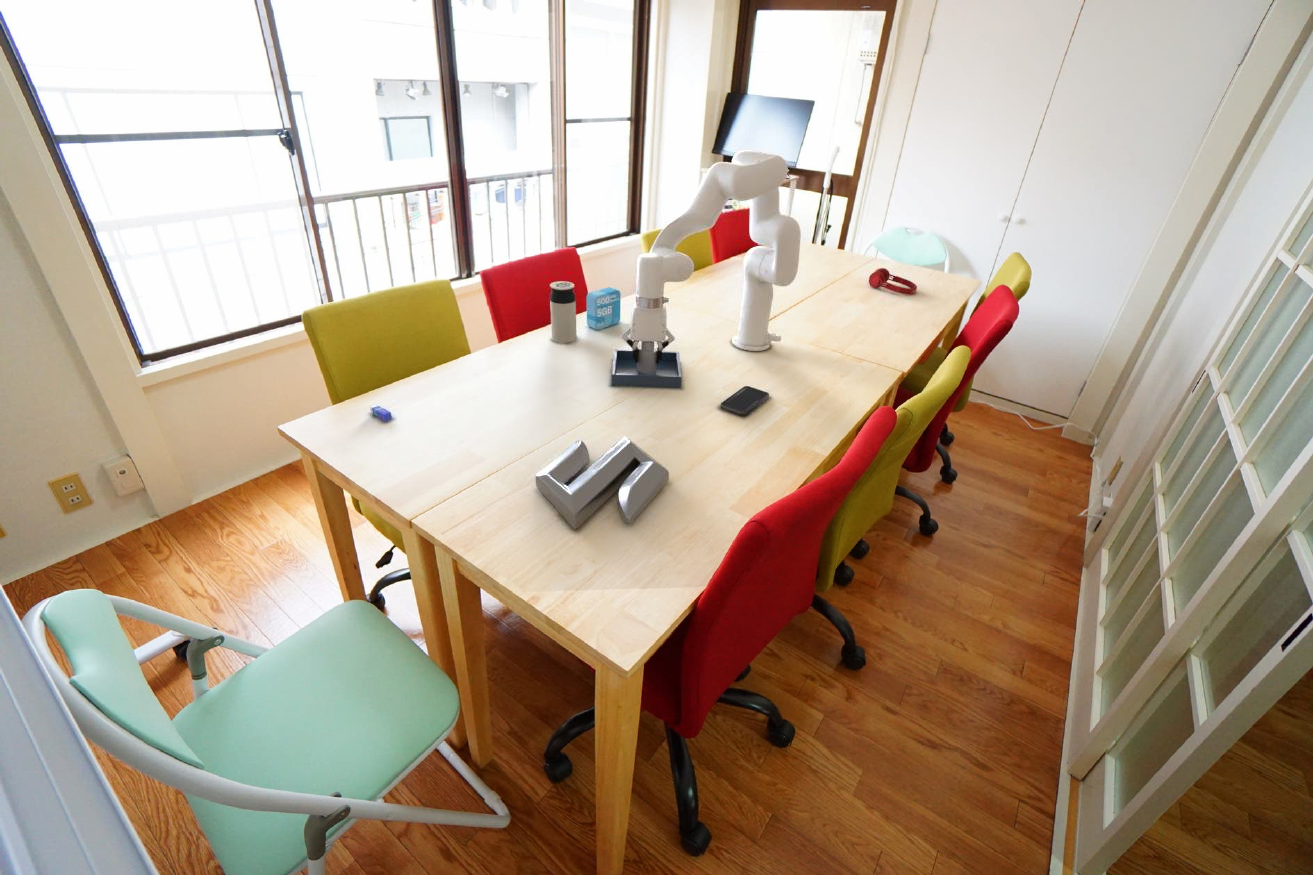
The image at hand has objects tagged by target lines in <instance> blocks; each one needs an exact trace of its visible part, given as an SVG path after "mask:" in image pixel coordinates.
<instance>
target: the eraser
mask: <svg viewBox="0 0 1313 875" xmlns="http://www.w3.org/2000/svg"><path fill="white" fill-rule="evenodd" d="M369 409H370V412H371V414H373V415H374V416H376V417H378V418H379V419H381V420H382V421H384V422H387V421H390V420H392V419H393V417H392V412H391V411H389V410H388V409H386V408H384V407H382V406H380V405H378V404H375V405H372V406H370V407H369Z"/></svg>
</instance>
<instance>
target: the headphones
mask: <svg viewBox="0 0 1313 875" xmlns="http://www.w3.org/2000/svg"><path fill="white" fill-rule="evenodd" d="M888 281H890V282H888ZM891 282H893V283H897V284H900V285H903V286H905V287H902V286H899V285H895V284H893V283H891ZM868 284H869V286H871V287H872V288H874V289H879V288H884V289H886V290H889V291H892V292H895V293H898V294H902V295H914V294H915V293H916V291H917V289H918V286H917V284H916V283H914V282H913V281H910V280H908V279H907V278H903V277H901V276H898V275H894V274H891V273H890V271H889V270H888V269H887V268H885V267H880V268H877V269H875V271H874V272H872V273H870V275H869V277H868Z"/></svg>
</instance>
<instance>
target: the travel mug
mask: <svg viewBox="0 0 1313 875" xmlns="http://www.w3.org/2000/svg"><path fill="white" fill-rule="evenodd" d="M549 287H550V288H551V289H550V290H551V292H550V293H549V307H550V309H549V310H550V325H551V326H550V327H551V340H552V341H553V342H556V343H560V344H568V343H569V344H570V343H572V342H574V341H576V340H577V307H576V306H577V304H576V303H577V302H576V301H577V300H576V293H575V291H574V288H575V284H574V283H573V282H571V281H562V280H561V281H554V282H551V283H550V284H549Z"/></svg>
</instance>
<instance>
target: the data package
mask: <svg viewBox="0 0 1313 875" xmlns="http://www.w3.org/2000/svg"><path fill="white" fill-rule="evenodd" d="M620 321H621V291H620V290H618V289H616V288H613V287H610V286H609V287H604V288H602V289H597V290H594V291H591V292H588V293H587V294H586V325H587V326H588V327H589V328H592V329H594V330H596V331H598V330H599V331H600V330H602V329H605V328H608V327H612V326H614V325H617V324H619V323H620Z"/></svg>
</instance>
